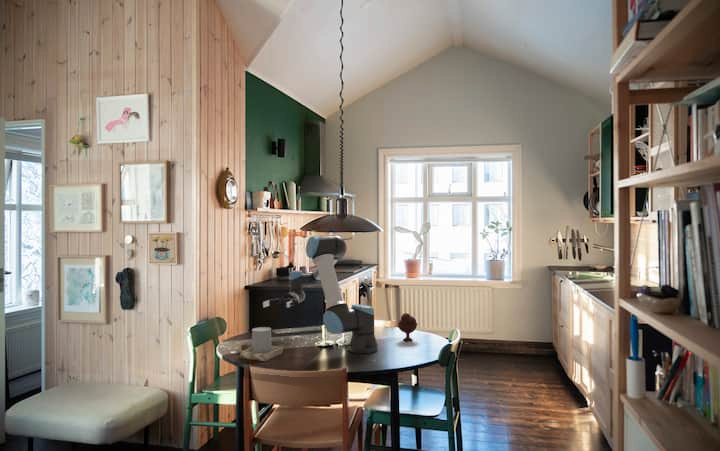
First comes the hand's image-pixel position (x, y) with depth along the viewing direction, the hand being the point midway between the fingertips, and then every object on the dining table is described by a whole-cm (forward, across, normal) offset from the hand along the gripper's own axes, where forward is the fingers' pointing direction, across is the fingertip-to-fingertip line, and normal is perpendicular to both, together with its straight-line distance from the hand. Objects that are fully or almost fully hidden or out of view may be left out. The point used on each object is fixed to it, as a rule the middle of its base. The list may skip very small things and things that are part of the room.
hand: (275, 305), depth 259 cm
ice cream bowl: (-28, -67, -24) cm, 76 cm away
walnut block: (+11, +12, -23) cm, 28 cm away
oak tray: (+16, +1, -23) cm, 28 cm away
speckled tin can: (+16, +1, -22) cm, 27 cm away
